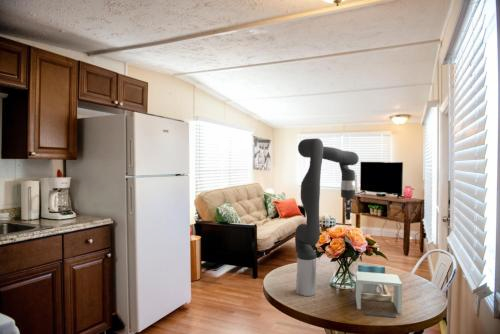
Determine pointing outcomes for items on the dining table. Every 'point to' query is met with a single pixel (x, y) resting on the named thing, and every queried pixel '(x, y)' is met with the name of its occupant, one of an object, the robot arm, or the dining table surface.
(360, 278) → the tunnel
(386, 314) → the pit mat
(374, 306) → the dining table surface
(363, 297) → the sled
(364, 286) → the cup
